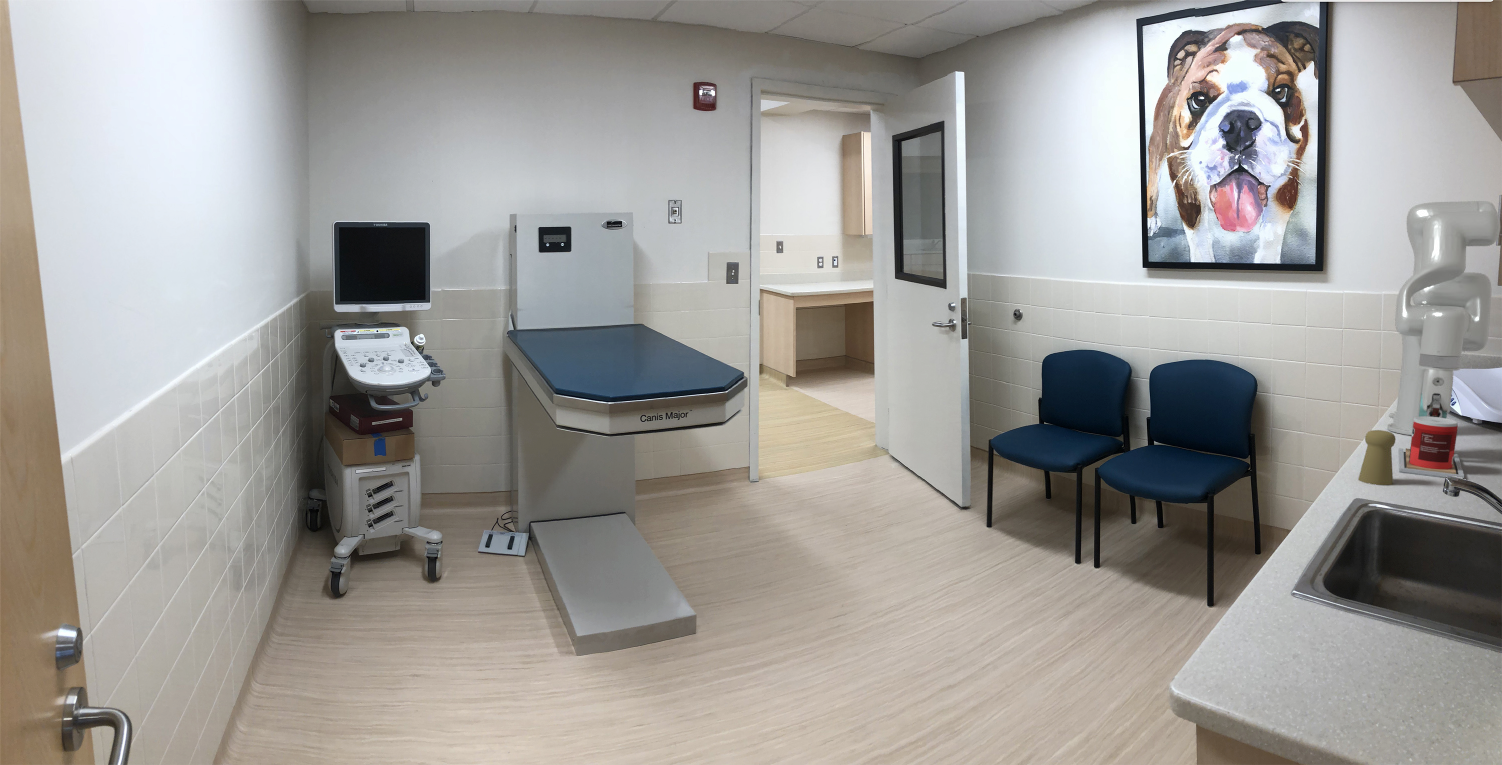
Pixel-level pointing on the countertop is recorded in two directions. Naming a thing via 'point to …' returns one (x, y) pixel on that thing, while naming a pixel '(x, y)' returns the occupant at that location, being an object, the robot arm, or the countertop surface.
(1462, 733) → the countertop surface
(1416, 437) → the canned food
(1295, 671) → the countertop surface
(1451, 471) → the teal upright with base
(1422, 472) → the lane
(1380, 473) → the cork
